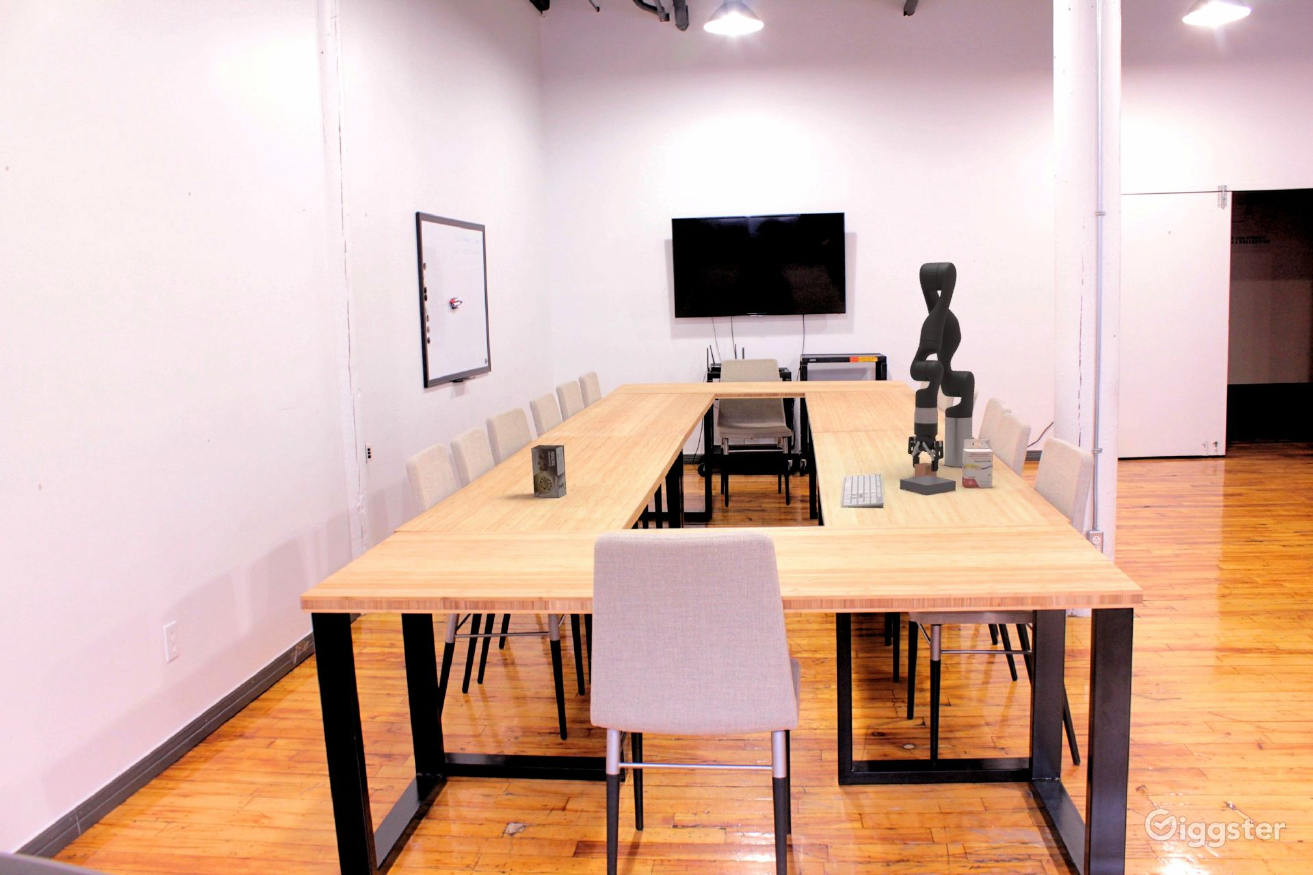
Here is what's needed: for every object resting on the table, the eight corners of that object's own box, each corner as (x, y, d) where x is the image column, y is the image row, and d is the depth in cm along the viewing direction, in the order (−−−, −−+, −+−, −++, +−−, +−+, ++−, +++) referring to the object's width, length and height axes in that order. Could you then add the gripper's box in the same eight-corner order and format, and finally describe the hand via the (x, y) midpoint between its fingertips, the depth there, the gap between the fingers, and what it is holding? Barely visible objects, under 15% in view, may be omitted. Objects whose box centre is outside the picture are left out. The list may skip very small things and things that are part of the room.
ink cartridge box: (964, 487, 319) (965, 441, 317) (961, 484, 324) (962, 439, 322) (992, 487, 319) (993, 441, 316) (989, 484, 323) (990, 438, 321)
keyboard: (843, 479, 341) (843, 472, 340) (881, 480, 338) (881, 473, 338) (840, 509, 298) (840, 501, 297) (883, 509, 295) (883, 502, 295)
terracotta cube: (925, 477, 338) (926, 462, 338) (936, 479, 334) (936, 464, 333) (914, 478, 336) (914, 464, 335) (924, 481, 332) (925, 466, 331)
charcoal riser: (928, 484, 327) (928, 474, 326) (955, 490, 316) (955, 480, 316) (899, 488, 321) (899, 479, 321) (926, 495, 311) (926, 485, 310)
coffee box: (567, 493, 329) (565, 444, 326) (559, 498, 323) (556, 448, 320) (541, 492, 332) (539, 444, 329) (533, 496, 326) (530, 447, 323)
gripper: (950, 422, 327) (949, 471, 330) (919, 418, 340) (918, 465, 342) (932, 424, 324) (931, 474, 326) (902, 419, 336) (901, 467, 339)
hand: (925, 469), depth 334 cm, fingers open, 8 cm apart
